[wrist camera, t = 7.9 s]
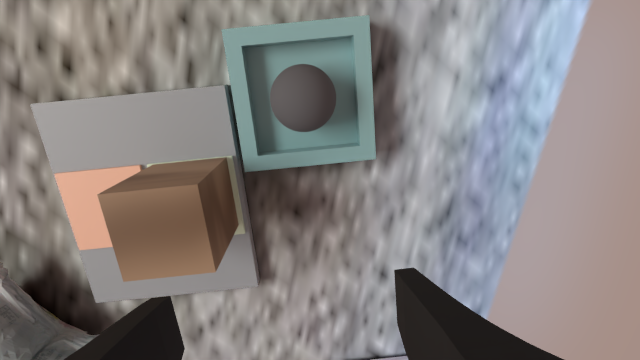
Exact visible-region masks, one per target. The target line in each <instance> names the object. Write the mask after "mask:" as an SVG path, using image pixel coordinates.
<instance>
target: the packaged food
mask: <svg viewBox="0 0 640 360" xmlns="http://www.w3.org/2000/svg"><path fill="white" fill-rule="evenodd" d="M86 333H87V331H82V330H80V329H78V328H76V327H73V326H71V325H69V324H66V323H64V322H62V321H61V320H60V319H58V318H57V317H56V316H54V315H53V314H52V313H50V312H49V311H47V310H46V309H45V308H43V307H42V306H40V305H39V304H38V303H36V302H35V301H34V300H33V299H32V298H31V296H29V295H28V294H27V293H25V292H24V291H23V290H22V288H20V287H19V286H18V285H17V284H16V281H14V280H12V279H10V278H9V277H8V269H6V268H3V263H1V262H0V360H64V359H65V358H67V357H68V356H70V355H71V354H72V353H74V352H75V351H77V350H78V349H80V348H81V347H83V346H84V345H86V344H87V343H88V342H90V341H91V340H93V339H94V338H95V337H97V336H98V335H99V334H98V335H89V334H86Z"/></svg>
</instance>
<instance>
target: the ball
mask: <svg viewBox="0 0 640 360" xmlns="http://www.w3.org/2000/svg"><path fill="white" fill-rule="evenodd" d="M270 104H271V108H272V111H273V113H274V115H275V117H276V118H277V119H278V121H279V122H280V123H281V124H283V125H284V126H285V127H287V128H289V129H291V130H293V131H297V132H310V131H314V130H316V129H318V128H320V127H322V126H323V125H324V124H326V122H327V121H328V120H329V119H330V118H331V116H332V114H333V112H334V109H335V106H336V91H335V87H334V85H333V83H332V81H331V79H330V78H329V76H328V75H327V74H326V73H325V72H324V71H322V70H321V69H319V68H318V67H315V66H313V65H309V64H297V65H293V66H290V67H288V68H286V69H285V70H283V71H282V72H281V73H280V74H279V75H278V76H277V77H276V79H275V80H274V82H273V85H272V87H271V92H270Z"/></svg>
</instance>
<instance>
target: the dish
mask: <svg viewBox="0 0 640 360" xmlns="http://www.w3.org/2000/svg"><path fill="white" fill-rule="evenodd" d="M222 35H223V41H224V47H225V53H226V60H227V66H228V72H229V78H230V84H231V90H232V96H233V103H234V109H235V115H236V121H237V127H238V133H239V139H240V145H241V152H242V158H243V164H244V170H245V172H252V171H262V170H272V169H282V168H292V167H302V166H312V165H322V164H332V163H342V162H352V161H362V160H372V159H376V147H375V126H374V105H373V84H372V63H371V42H370V21H369V15H366V16H356V17H345V18H335V19H325V20H314V21H304V22H294V23H283V24H273V25H263V26H252V27H242V28H232V29H222ZM297 64H309V65H313V66H315V67H318V68H319V69H321V70H322V71H324V72H325V73H326V74H327V75H328V76H329V78H330V79H331V81H332V83H333V85H334V87H335V91H336V106H335V109H334V112H333V114H332V116H331V118H330V119H329V120H328V121H327V122H326V124H324V125H323V126H322V127H320V128H318V129H316V130H314V131H310V132H297V131H293V130H291V129H289V128H287V127H285V126H284V125H283V124H281V123H280V122H279V121H278V119H277V118H276V117H275V115H274V113H273V111H272V108H271V104H270V92H271V87H272V85H273V82H274V80H275V79H276V77H277V76H278V75H279V74H280V73H281V72H282V71H283V70H285V69H286V68H288V67H290V66H293V65H297Z"/></svg>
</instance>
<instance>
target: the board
mask: <svg viewBox="0 0 640 360" xmlns="http://www.w3.org/2000/svg"><path fill="white" fill-rule="evenodd" d="M30 105H31V108H32V111H33V114H34V117H35V120H36V123H37V126H38V129H39V132H40V135H41V138H42V141H43V144H44V148H45V151H46V154H47V157H48V160H49V163H50V166H51V169H52V172H53V175H54V178H55V181H56V184H57V187H58V190H59V193H60V196H61V199H62V202H63V205H64V208H65V211H66V214H67V217H68V220H69V223H70V226H71V229H72V232H73V235H74V238H75V241H76V244H77V247H78V250H79V253H80V256H81V259H82V262H83V265H84V268H85V271H86V274H87V277H88V280H89V283H90V286H91V289H92V292H93V295H94V298H95V301H96V303H101V302H111V301H121V300H131V299H140V298H150V297H160V296H170V295H180V294H190V293H200V292H210V291H219V290H229V289H239V288H249V287H258V285H259V281H260V277H259V271H258V265H257V258H256V252H255V246H254V240H253V234H252V228H251V222H250V216H249V210H248V204H247V198H246V192H245V186H244V180H243V174H242V168H241V162H240V156H239V149H238V143H237V137H236V131H235V125H234V119H233V113H232V107H231V101H230V95H229V89H228V85H221V86H210V87H200V88H190V89H180V90H170V91H159V92H149V93H139V94H129V95H118V96H108V97H98V98H88V99H77V100H67V101H57V102H47V103H36V104H30ZM223 157H227V162H228V168H229V174H230V179H231V185H232V190H233V196H234V201H235V207H236V213H237V218H238V224H239V225H238V227H237V229H236V232H235V234H234V236H233V238H232V240H231V242H230V244H229V246H228V248H227V250H226V252H225V254H224V256H223V259H222V261H221V263H220V265H219V267H218V269H217V271H216V272H214V273H205V274H195V275H185V276H176V277H166V278H156V279H146V280H137V281H127V282H123V279H122V275H121V272H120V269H119V266H118V262H117V259H116V256H115V252H114V249H113V246H112V242H111V239H110V236H109V232H108V229H107V226H106V222H105V219H104V216H103V212H102V209H101V206H100V202H99V199H98V196H97V194H99V193H101V192H103V191H105V190H107V189H108V188H110V187H112V186H114V185H116V184H118V183H120V182H121V181H123V180H125V179H127V178H129V177H131V176H133V175H134V174H136V173H138V172H140V171H142V170H144V169H146V168H147V167H149V166H151V165H154V164H164V163H174V162H184V161H193V160H203V159H213V158H223Z"/></svg>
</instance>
